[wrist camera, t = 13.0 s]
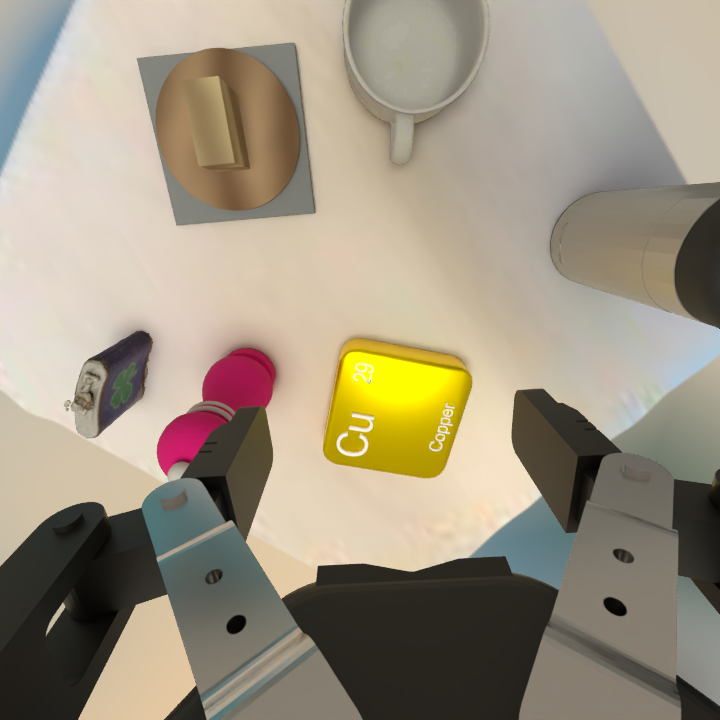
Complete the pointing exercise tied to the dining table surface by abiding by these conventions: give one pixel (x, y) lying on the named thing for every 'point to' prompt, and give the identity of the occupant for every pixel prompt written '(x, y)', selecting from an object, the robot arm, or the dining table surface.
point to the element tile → (395, 408)
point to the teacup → (412, 58)
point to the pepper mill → (216, 406)
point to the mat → (299, 188)
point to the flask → (110, 384)
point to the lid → (227, 129)
